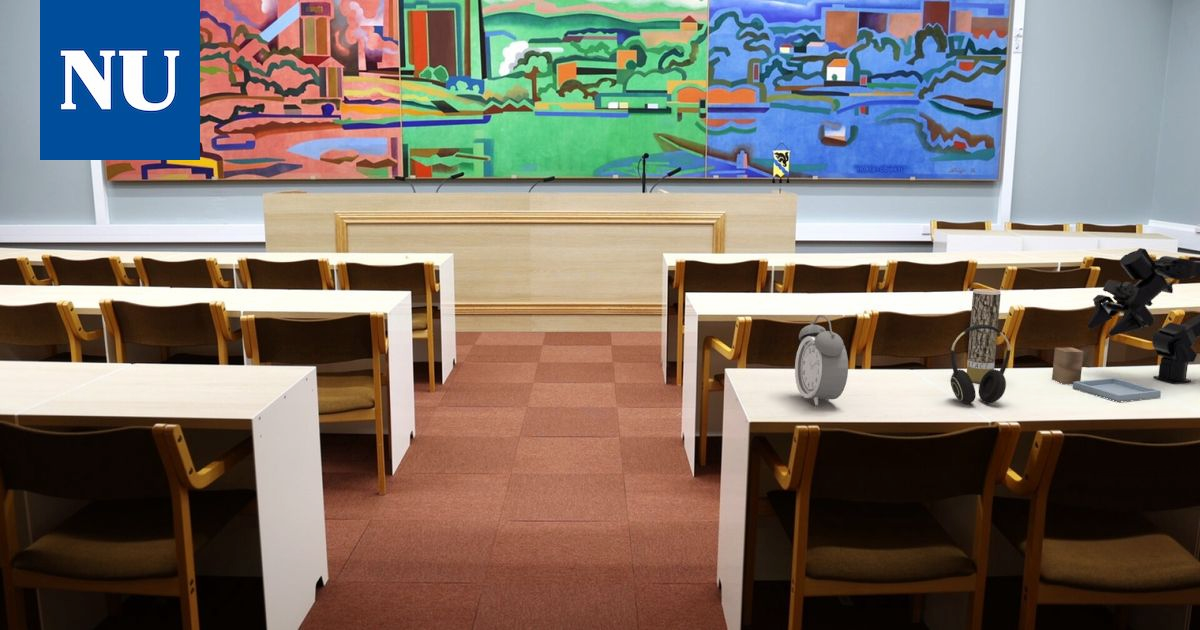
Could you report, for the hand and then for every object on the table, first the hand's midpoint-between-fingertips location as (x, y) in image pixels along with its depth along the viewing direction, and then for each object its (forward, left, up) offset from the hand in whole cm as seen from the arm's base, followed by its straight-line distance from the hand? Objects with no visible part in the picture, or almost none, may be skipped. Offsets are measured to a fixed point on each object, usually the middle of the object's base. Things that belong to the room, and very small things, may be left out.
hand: (1098, 331), depth 236 cm
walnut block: (+7, -2, -14) cm, 16 cm away
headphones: (+45, +7, -14) cm, 48 cm away
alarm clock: (+82, -6, -14) cm, 84 cm away
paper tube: (+29, -10, -14) cm, 34 cm away
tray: (+4, +11, -14) cm, 18 cm away
